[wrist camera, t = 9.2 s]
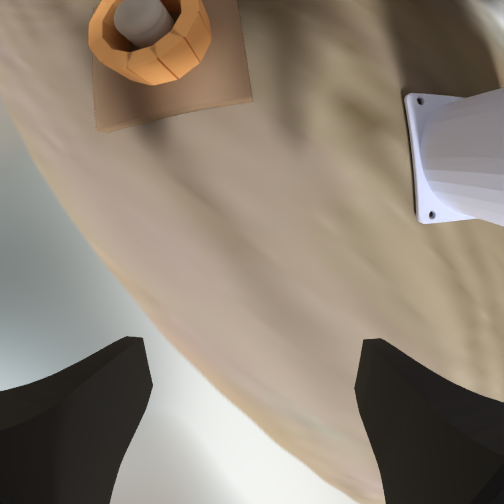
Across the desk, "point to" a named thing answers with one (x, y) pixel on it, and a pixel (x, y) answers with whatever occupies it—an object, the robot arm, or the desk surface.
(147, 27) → the post stand
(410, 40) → the desk surface
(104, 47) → the ring
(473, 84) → the desk surface
